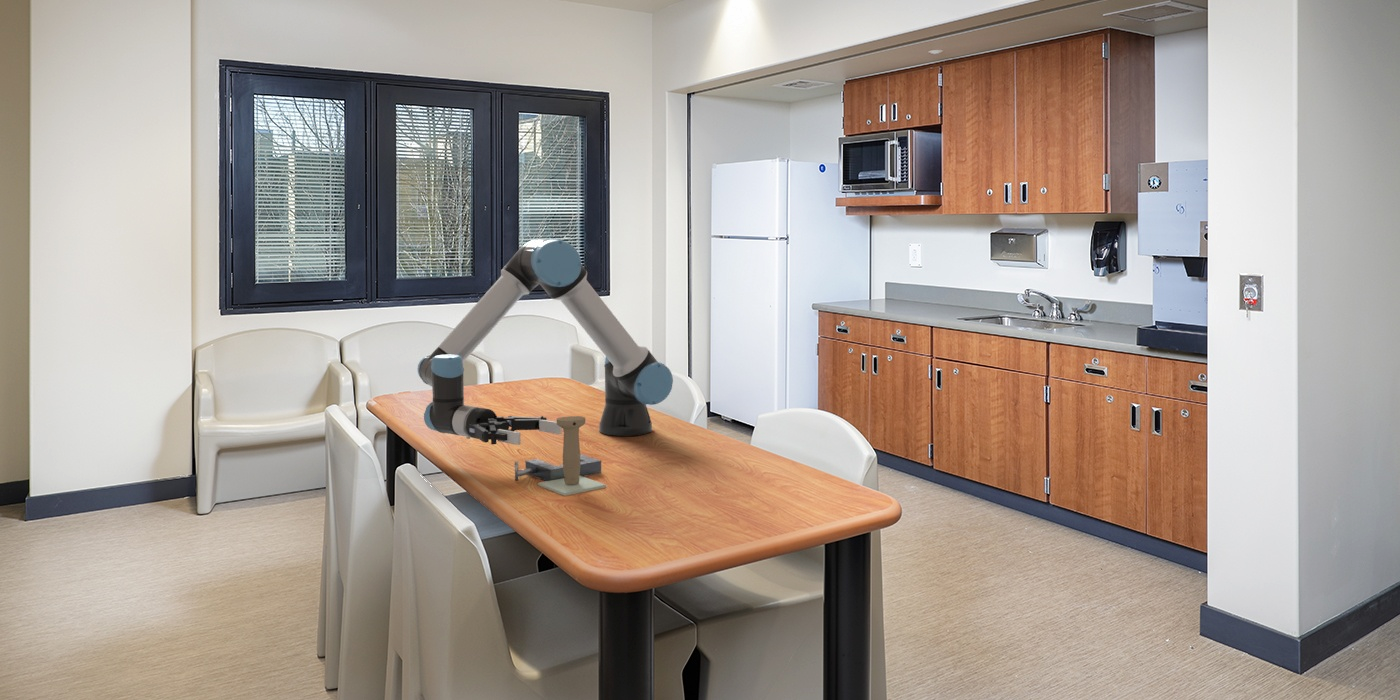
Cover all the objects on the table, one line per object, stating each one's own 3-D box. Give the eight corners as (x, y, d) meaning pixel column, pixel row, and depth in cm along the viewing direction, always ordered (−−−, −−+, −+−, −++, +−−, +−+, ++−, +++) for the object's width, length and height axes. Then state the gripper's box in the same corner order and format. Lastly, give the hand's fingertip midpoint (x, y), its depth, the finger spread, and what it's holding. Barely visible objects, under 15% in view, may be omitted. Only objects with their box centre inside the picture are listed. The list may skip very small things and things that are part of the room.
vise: (575, 464, 238) (575, 446, 238) (601, 472, 230) (601, 454, 229) (505, 476, 226) (505, 458, 225) (530, 486, 217) (529, 467, 217)
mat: (579, 477, 225) (578, 475, 225) (606, 487, 217) (606, 484, 217) (538, 485, 218) (538, 482, 218) (564, 495, 210) (564, 493, 210)
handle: (588, 484, 217) (588, 419, 215) (561, 487, 214) (560, 421, 212) (582, 479, 221) (581, 415, 219) (555, 482, 218) (554, 417, 217)
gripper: (513, 429, 244) (576, 439, 233) (436, 447, 224) (501, 460, 212) (512, 400, 243) (576, 409, 232) (435, 415, 223) (500, 426, 211)
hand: (540, 433), depth 222 cm, fingers open, 13 cm apart
